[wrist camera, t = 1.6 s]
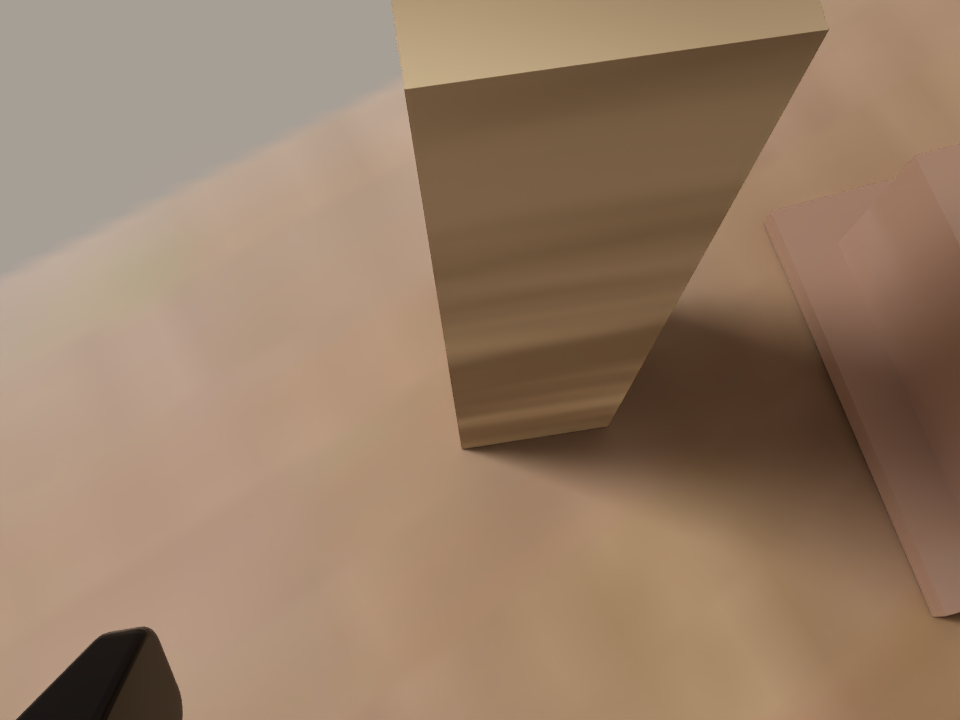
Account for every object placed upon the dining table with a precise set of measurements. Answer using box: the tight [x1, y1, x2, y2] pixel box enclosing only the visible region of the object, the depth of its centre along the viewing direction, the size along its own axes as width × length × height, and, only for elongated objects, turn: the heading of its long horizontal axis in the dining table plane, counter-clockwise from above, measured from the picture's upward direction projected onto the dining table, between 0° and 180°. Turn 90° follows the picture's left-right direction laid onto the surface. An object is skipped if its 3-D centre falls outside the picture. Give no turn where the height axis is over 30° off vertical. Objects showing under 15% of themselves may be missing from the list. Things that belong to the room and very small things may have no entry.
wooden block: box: [391, 0, 829, 449], centre depth 14 cm, size 4×4×14 cm
